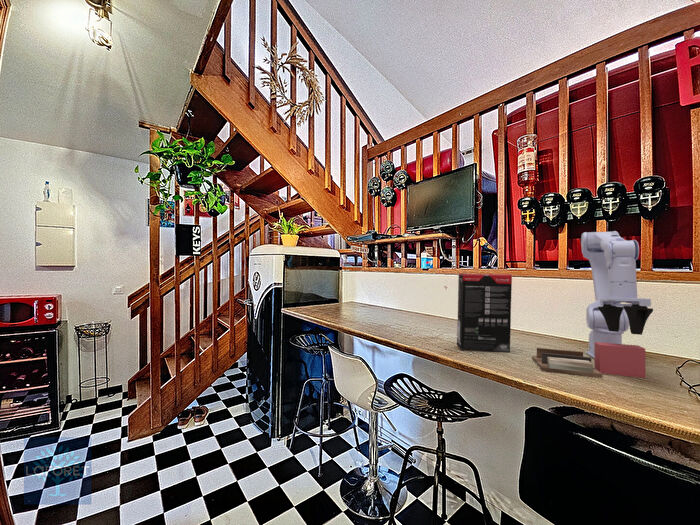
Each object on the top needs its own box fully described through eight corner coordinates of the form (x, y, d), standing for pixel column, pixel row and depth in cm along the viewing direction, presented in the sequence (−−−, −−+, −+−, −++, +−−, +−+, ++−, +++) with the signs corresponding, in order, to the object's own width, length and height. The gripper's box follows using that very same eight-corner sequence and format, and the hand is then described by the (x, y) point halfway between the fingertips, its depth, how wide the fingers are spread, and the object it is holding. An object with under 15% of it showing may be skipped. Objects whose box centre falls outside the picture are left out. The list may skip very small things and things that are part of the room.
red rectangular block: (594, 369, 86) (594, 341, 86) (638, 373, 83) (637, 345, 83) (599, 373, 83) (599, 345, 83) (645, 378, 80) (645, 348, 80)
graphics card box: (504, 347, 109) (504, 273, 109) (512, 353, 102) (512, 274, 102) (456, 346, 110) (456, 273, 110) (461, 351, 103) (461, 273, 104)
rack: (532, 358, 95) (532, 346, 96) (584, 364, 91) (584, 351, 91) (542, 371, 84) (542, 357, 84) (602, 377, 79) (602, 363, 79)
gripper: (588, 283, 90) (590, 329, 88) (628, 280, 75) (630, 334, 74) (613, 285, 89) (615, 331, 87) (658, 282, 74) (662, 336, 73)
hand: (624, 332), depth 80 cm, fingers open, 7 cm apart
